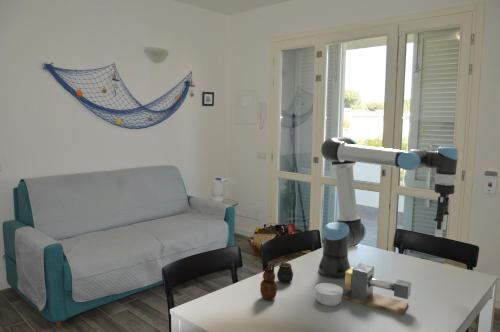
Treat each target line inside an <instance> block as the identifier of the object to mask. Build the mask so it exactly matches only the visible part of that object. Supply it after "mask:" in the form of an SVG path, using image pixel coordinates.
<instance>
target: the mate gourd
mask: <svg viewBox="0 0 500 332" xmlns="http://www.w3.org/2000/svg"><path fill="white" fill-rule="evenodd" d="M279 259H280V262H281V263H279V264H278V270H277V274H276V277H277V280H278V282H280V284H287V285H288V284H289V283H291V282H292V281H293V277H294V272H293V269H292V264H291V263H289V262H283V260H282V257H279Z"/></svg>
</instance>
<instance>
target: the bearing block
mask: <svg viewBox="0 0 500 332" xmlns="http://www.w3.org/2000/svg"><path fill="white" fill-rule="evenodd" d="M353 268H354V269H353V271H352V291H351V298H355V299H358V300H362V301H367V300H368V298H369V297H370V296H371V295H372V294H373V293H374V286H371V285H368V284H369V277H370V278H374V276H375V266H374V265H370V264H365V263H362V262H361V263H360V262H359V263H358V264H357V265H356V266H355V267H353Z"/></svg>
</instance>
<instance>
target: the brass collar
mask: <svg viewBox="0 0 500 332" xmlns="http://www.w3.org/2000/svg"><path fill="white" fill-rule="evenodd" d="M354 268H355V267H353V266H350V269H348V270H347V271H346V272H345V278H344V287H345V289H348V290H351V289H352V271H353V269H354Z"/></svg>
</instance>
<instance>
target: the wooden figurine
mask: <svg viewBox="0 0 500 332" xmlns="http://www.w3.org/2000/svg"><path fill="white" fill-rule="evenodd" d="M262 278H263V279H262V281H260V290H259V291H260V295H261V297H262V298H263V299H264V300H268V301H273V300H274V299H275V298H276V296H277V292H278V282H277V281H276V273H275V262H273V264H271V263H269V266H268V265H267V267H265V268H264V272H263V273H262Z"/></svg>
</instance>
